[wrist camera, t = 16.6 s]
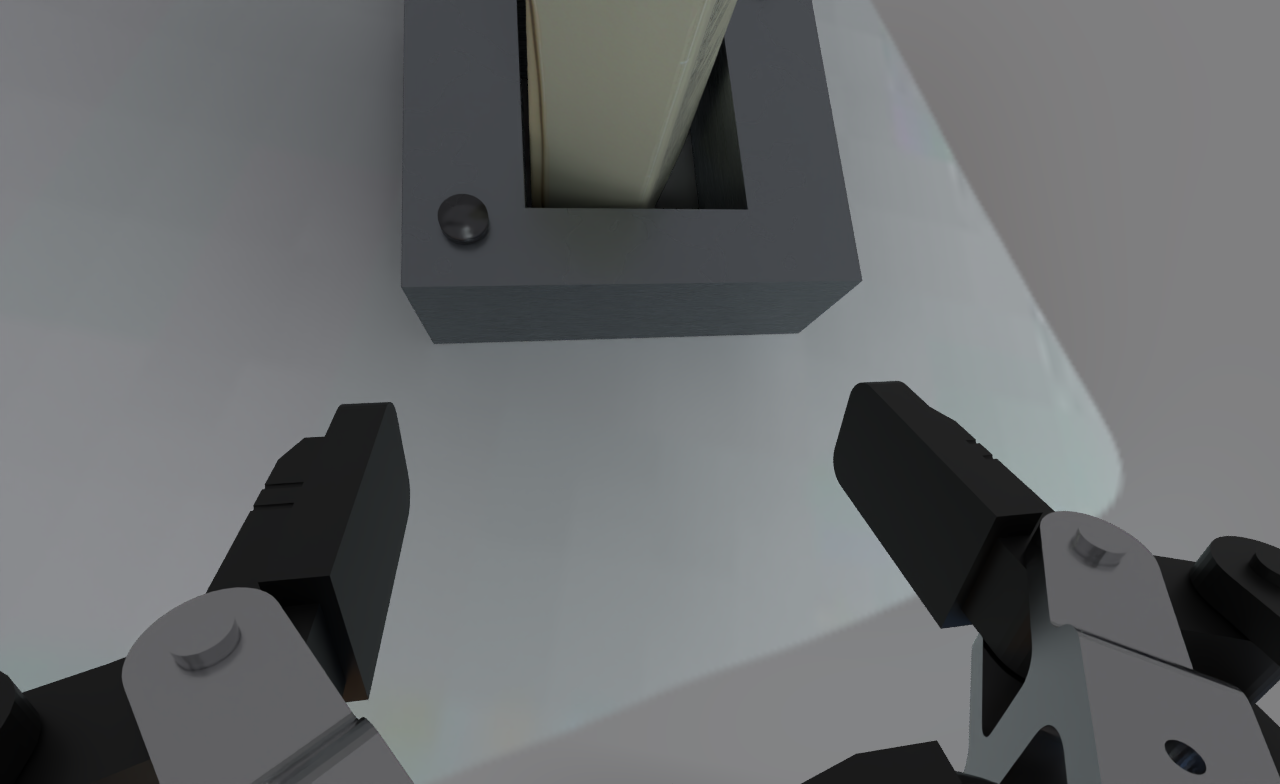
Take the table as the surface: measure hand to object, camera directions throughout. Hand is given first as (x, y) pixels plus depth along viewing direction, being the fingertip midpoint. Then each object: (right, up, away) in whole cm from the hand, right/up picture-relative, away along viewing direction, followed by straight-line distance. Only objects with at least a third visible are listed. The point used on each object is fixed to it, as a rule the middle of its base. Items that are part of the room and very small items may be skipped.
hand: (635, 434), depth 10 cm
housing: (-1, +10, +14) cm, 17 cm away
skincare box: (-1, +9, +14) cm, 17 cm away
